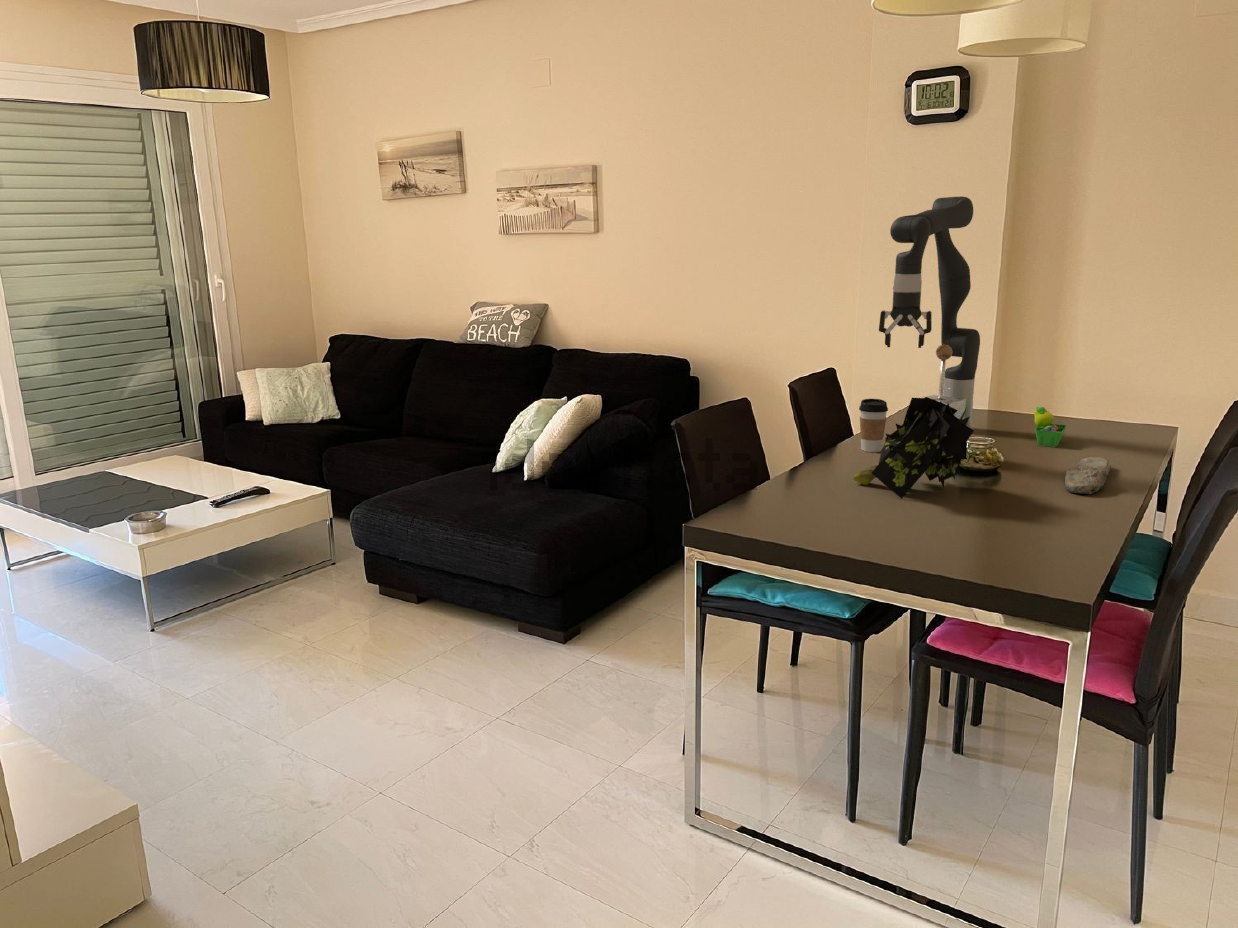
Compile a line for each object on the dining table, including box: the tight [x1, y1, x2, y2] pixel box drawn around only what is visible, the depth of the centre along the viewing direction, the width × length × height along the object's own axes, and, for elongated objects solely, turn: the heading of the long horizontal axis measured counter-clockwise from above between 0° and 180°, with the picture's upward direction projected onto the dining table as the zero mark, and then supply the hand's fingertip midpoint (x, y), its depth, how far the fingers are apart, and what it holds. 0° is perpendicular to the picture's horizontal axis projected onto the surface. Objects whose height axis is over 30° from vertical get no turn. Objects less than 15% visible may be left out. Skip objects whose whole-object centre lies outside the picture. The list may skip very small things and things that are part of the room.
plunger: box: [935, 344, 953, 400], centre depth 261 cm, size 7×7×22 cm
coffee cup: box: [858, 398, 889, 453], centre depth 274 cm, size 8×8×15 cm
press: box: [922, 394, 966, 419], centre depth 265 cm, size 10×10×17 cm
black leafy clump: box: [852, 396, 975, 499], centre depth 231 cm, size 21×22×30 cm
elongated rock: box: [1064, 456, 1112, 495], centre depth 241 cm, size 35×5×10 cm
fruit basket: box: [1033, 406, 1067, 448], centre depth 280 cm, size 11×9×11 cm
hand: (903, 347), depth 262 cm, fingers open, 8 cm apart
